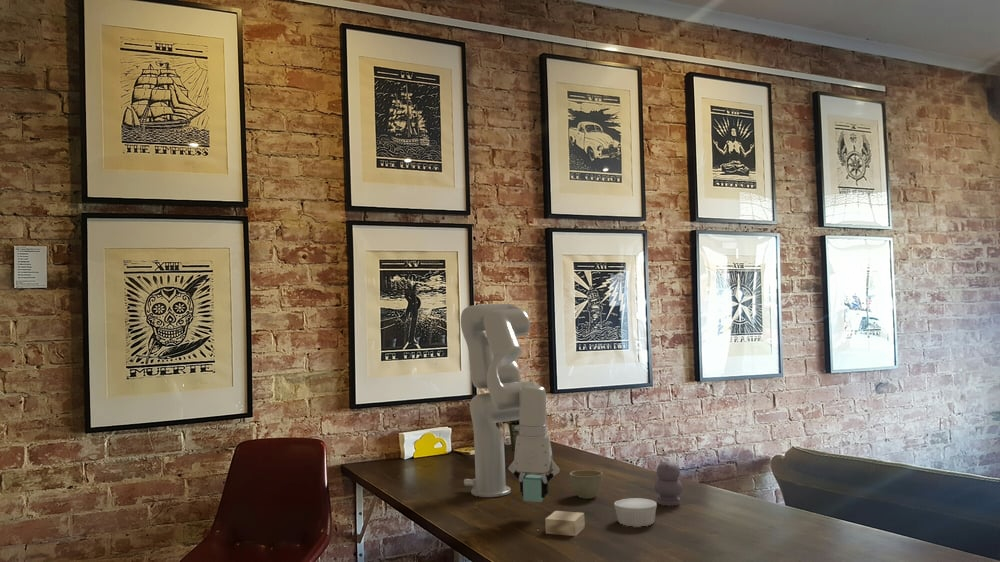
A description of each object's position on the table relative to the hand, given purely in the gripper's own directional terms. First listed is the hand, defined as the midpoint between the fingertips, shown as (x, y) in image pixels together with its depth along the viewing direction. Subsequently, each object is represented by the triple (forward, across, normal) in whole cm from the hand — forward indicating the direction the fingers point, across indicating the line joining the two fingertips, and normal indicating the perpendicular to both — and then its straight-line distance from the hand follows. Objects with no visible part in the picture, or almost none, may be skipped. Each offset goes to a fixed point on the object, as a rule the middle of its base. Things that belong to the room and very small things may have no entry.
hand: (534, 495), depth 206 cm
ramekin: (+6, +28, 0) cm, 29 cm away
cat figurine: (+6, +35, +21) cm, 41 cm away
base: (+6, +11, -10) cm, 16 cm away
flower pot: (+7, +10, +25) cm, 28 cm away
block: (+1, 0, 0) cm, 1 cm away
